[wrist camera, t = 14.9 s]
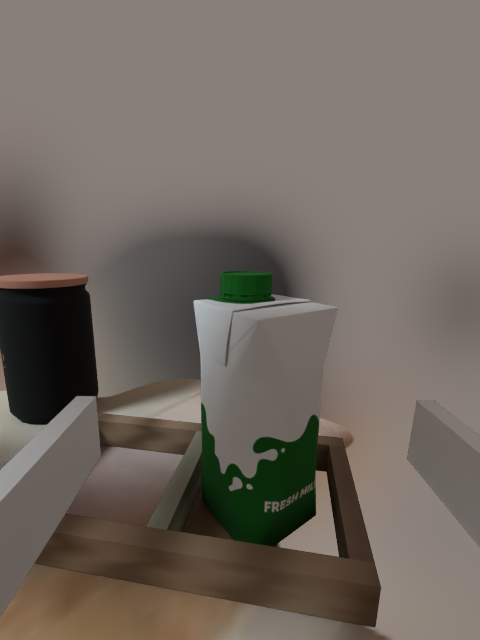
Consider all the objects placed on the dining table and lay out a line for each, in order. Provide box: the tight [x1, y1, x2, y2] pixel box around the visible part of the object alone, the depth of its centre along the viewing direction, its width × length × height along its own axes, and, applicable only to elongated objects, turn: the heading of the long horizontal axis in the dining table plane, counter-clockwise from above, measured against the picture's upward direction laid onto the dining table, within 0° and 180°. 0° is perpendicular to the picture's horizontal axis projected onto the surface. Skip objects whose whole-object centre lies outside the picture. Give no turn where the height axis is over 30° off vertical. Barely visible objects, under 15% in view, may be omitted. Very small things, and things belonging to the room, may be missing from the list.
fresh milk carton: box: [194, 271, 338, 546], centre depth 25 cm, size 9×9×20 cm
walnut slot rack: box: [35, 413, 381, 627], centre depth 28 cm, size 28×15×3 cm, turn 81°
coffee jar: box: [0, 273, 98, 424], centre depth 42 cm, size 11×11×18 cm
